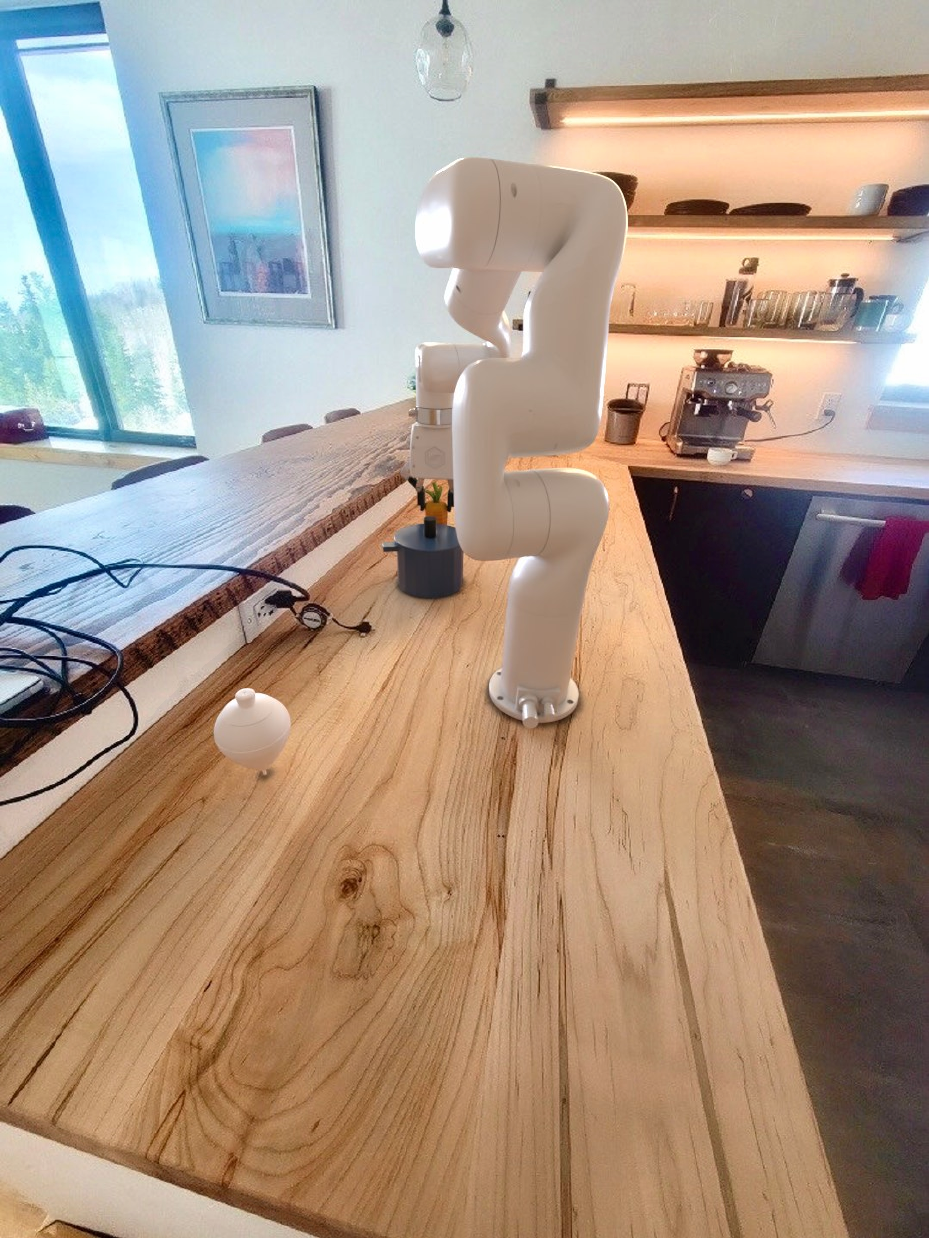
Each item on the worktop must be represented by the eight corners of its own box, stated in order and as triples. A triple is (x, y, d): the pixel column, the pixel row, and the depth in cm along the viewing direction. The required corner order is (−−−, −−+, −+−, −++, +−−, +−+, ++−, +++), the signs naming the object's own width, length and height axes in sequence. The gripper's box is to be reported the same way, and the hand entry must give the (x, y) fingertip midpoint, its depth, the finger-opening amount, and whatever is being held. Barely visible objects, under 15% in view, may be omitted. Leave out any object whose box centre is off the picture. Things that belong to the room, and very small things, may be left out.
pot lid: (473, 553, 91) (474, 529, 89) (398, 558, 89) (397, 533, 86) (457, 527, 103) (458, 505, 100) (391, 530, 100) (389, 508, 98)
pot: (481, 594, 97) (484, 548, 92) (387, 601, 93) (385, 554, 88) (467, 566, 107) (468, 524, 102) (382, 572, 104) (379, 529, 99)
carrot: (444, 557, 107) (445, 488, 99) (422, 555, 108) (421, 486, 100) (449, 549, 111) (450, 481, 104) (428, 546, 112) (427, 479, 104)
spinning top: (275, 740, 62) (257, 661, 56) (313, 771, 58) (298, 690, 52) (215, 777, 57) (189, 695, 51) (252, 814, 53) (228, 730, 47)
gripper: (388, 418, 92) (392, 513, 102) (480, 421, 92) (476, 517, 101) (394, 412, 99) (398, 502, 108) (481, 415, 98) (477, 505, 108)
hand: (436, 508), depth 104 cm, fingers closed on carrot, 4 cm apart
